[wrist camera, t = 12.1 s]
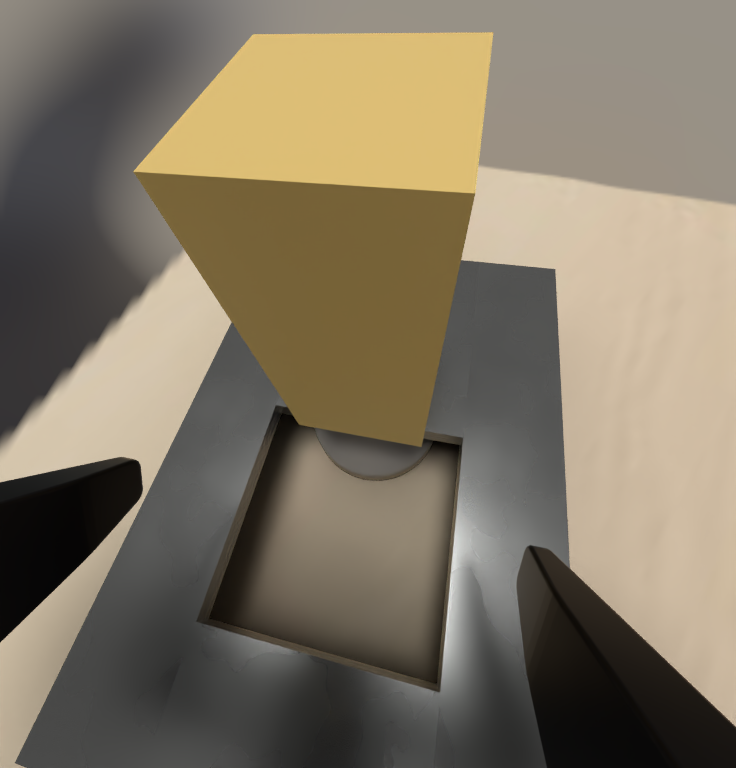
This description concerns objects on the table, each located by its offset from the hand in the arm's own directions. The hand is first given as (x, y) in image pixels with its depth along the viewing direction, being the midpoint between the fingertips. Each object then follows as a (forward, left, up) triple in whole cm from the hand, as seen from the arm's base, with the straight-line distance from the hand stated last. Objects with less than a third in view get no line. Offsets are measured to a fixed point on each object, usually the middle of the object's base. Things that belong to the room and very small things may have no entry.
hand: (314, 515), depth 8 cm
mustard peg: (+5, -2, -7) cm, 9 cm away
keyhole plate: (+3, -1, -7) cm, 8 cm away
